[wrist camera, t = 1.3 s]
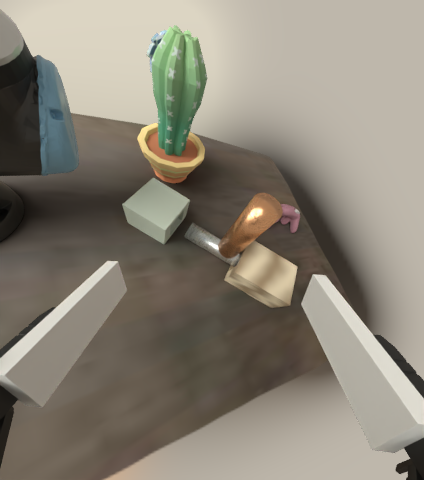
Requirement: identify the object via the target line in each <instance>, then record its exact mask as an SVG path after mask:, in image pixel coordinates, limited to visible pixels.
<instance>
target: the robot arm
mask: <svg viewBox="0 0 424 480" xmlns="http://www.w3.org/2000/svg"><path fill="white" fill-rule="evenodd" d="M78 164H79V155H78V147H77V141H76V136H75V131H74V126H73V121H72V117H71V113H70V109H69V105H68V101H67V97H66V93H65V90H64V86H63V83H62V80H61V77H60V75H59V73H58V70H57V68H56V67H55V65H54V64H53V63H52V62H50V61H49V60H46V59H44V58H42V57H41V56H39V55H37V56H35V57H33V56H32V55H31V53H30V51H29V49H28V47H27V45H26V43H25V41H24V39H23V37H22V35H21V33H20V31H19V30H18V28H17V26H16V24H15V23H14V22H13V21H12V20H11V18H9V17H8V16H7V15H6V14H5V13H4V12H3V11H2V10H0V176H20V175H42V176H47V175H48V174H56V173H68V172H71V171H73V170H75V169H76V168H77V167H78ZM23 215H24V204H23V202H22V200H21V198H20V197H19V196H18V195H17V194H16V193H15V192H14V191H13V190H12V189H11V188H10V187H9V186H8V185H6V184H5V183H3V182H2V181H0V241H2V240H3V239H5V238H6V237H7V236H8V235H10V234H11V233H12V232H13V231H14V230H15V229H16V228H17V226H18V225H19V224H20V222H21V220H22V218H23ZM126 291H127V289H126V285H125V282H124V279H123V276H122V272H121V269H120V266H119V263H118V262H117V261H107V262H106V263H105V264H104V265H103V266H101V267H100V268H99V269H98V270H97V271H96V272H95V273H94V274H93V275H92V276H90V277H89V278H88V279H87V280H86V281H85V282H84V283H83V284H82V285H81V286H79V287H78V288H77V289H76V290H75V291H74V292H73V293H72V294H71V295H70V296H68V297H67V298H66V299H65V300H64V301H63V302H62V303H61V304H60V305H58V306H57V307H56V308H55V307H53V308H51V309H49V310H48V311H46V312H44V313H43V314H41V315H40V316H39V317H37V318H36V319H35V320H34V321H33V322H32V323H30V324H29V326H28V327H26V328H25V329H24V330H22V331H21V332H20V333H19V335H18V336H16V337H14V338H13V339H12V340H11V341H10V342H9V343H7V344H6V345H5V346H4V347H3V348H2V349H1V350H0V467H1V463H2V459H3V455H4V451H5V446H6V442H7V438H8V434H9V430H10V426H11V422H12V418H13V414H14V408H13V407H12V406H13V405H14V404H15V402H16V401H17V400H19V401H21V402H22V403H23V404H25V405H27V406H34V407H43V406H44V405H45V403H46V402H47V401H48V399H49V398H50V396H51V395H52V394H53V392H54V391H55V389H56V388H57V387H58V385H59V384H60V383H61V381H62V380H63V378H64V377H65V376H66V374H67V373H68V372H69V370H70V369H71V367H72V366H73V365H74V363H75V362H76V360H77V359H78V358H79V356H80V355H81V354H82V352H83V351H84V349H85V348H86V347H87V345H88V344H89V343H90V341H91V340H92V338H93V337H94V336H95V334H96V333H97V331H98V330H99V329H100V327H101V326H102V325H103V323H104V322H105V320H106V319H107V318H108V316H109V315H110V314H111V312H112V311H113V309H114V308H115V307H116V305H117V304H118V303H119V301H120V300H121V298H122V297H123V296H124V294H125V293H126ZM301 305H302V307H303V309H304V311H305V313H306V315H307V317H308V319H309V321H310V323H311V325H312V327H313V329H314V331H315V333H316V336H317V338H318V340H319V342H320V344H321V346H322V348H323V350H324V352H325V354H326V356H327V358H328V360H329V362H330V364H331V366H332V368H333V370H334V372H335V374H336V377H337V379H338V381H339V383H340V385H341V387H342V389H343V391H344V393H345V395H346V397H347V399H348V401H349V403H350V405H351V407H352V409H353V411H354V413H355V416H356V418H357V420H358V422H359V424H360V426H361V428H362V429H363V432H364V434H365V436H366V438H367V440H368V442H369V444H370V446H371V448H372V450H376V451H384V452H392V453H395V452H397V451H399V450H401V449H403V448H404V449H405V450H406V452H407V454H408V455H409V457H410V459H409V460H406V461H404V462H402V463H399V464H397V467H396V471H397V472H398V473H399V474H401V473H404V472H407V471H408V477H407V478H406V480H424V381H423V379H422V378H421V377H420V376H419V375H417V374H416V371H415V370H414V369H413V368H412V367H411V365H410V364H409V363H407V362H406V360H405V359H404V357H403V356H402V355H401V354H400V353H399V351H397V349H396V348H395V347H394V346H393V345H391V344H390V343H389V342H388V341H387V340H386V339H384V338H383V337H382V336H380V335H373V334H372V333H371V332H370V331H369V329H368V328H367V327H366V326H365V324H364V323H363V322H362V321H361V319H360V318H359V317H358V316H357V314H356V313H355V312H354V311H353V309H352V308H351V307H350V306H349V304H348V303H347V302H346V301H345V299H344V298H343V297H342V296H341V294H340V293H339V292H338V291H337V289H336V288H335V287H334V286H333V284H332V283H331V282H330V281H329V279H328V278H327V277H326V276H325V275H314V274H313V276H312V278H311V281H310V283H309V286H308V288H307V291H306V293H305V296H304V298H303V301H302V303H301Z"/></svg>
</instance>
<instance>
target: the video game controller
mask: <svg viewBox="0 0 424 480" xmlns="http://www.w3.org/2000/svg"><path fill="white" fill-rule="evenodd" d="M280 205H281V207H282V210H283V213H282V216H283V217H282V218H281V219H280V218H279V219H278V220H277V221H276V222H278V221H279V220H280V222H281V223H282V224H287V223H288V222H289V221H290V231H291V233H295V232H296V230H297V228H298V224H299V220H300V212H299V211H298V210H297V209H296V208H294V207H293V206H290V205H286V204H280ZM276 222H275V223H276ZM270 227H271V226H270ZM270 227H269V228H270ZM269 228H268V229H269Z"/></svg>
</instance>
